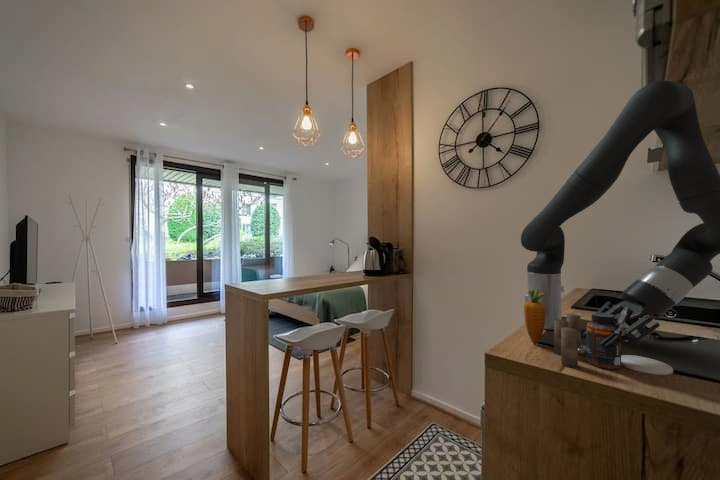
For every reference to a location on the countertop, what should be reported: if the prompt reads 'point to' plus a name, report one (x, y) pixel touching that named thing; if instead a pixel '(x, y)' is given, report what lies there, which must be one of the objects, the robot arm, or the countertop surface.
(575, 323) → the post
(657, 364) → the coaster
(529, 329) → the carrot
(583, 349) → the nut
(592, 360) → the supplement bottle
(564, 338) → the post
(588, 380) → the countertop surface
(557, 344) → the post
